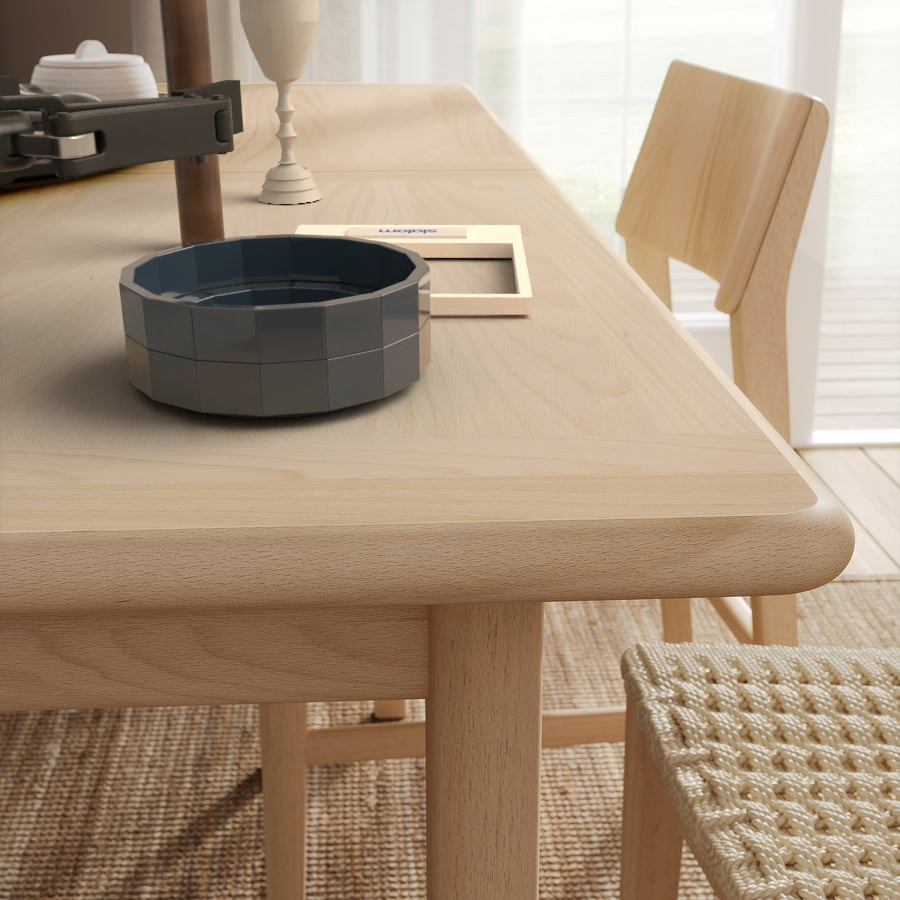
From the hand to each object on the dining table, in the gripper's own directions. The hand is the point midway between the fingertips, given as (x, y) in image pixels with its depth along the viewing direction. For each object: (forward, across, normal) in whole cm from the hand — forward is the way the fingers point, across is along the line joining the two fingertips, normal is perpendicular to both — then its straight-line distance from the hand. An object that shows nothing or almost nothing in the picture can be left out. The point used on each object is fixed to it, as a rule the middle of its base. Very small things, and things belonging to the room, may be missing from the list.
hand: (123, 102), depth 65 cm
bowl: (-14, +15, -10) cm, 23 cm away
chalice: (+26, -1, -10) cm, 27 cm away
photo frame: (+5, +15, -10) cm, 18 cm away
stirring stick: (+8, 0, -10) cm, 13 cm away
